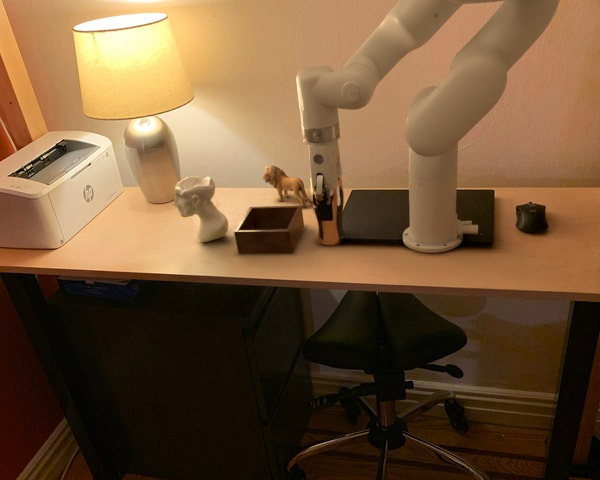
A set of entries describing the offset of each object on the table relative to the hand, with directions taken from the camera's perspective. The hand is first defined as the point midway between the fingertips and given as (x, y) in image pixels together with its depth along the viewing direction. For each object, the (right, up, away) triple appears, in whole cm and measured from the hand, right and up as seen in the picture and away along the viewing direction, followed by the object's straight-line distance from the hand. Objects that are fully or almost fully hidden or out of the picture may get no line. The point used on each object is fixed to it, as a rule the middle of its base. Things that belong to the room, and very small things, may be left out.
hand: (328, 211), depth 129 cm
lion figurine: (-9, +6, +24) cm, 26 cm away
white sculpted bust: (-28, -5, +11) cm, 31 cm away
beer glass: (+1, -6, +4) cm, 7 cm away
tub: (-13, -5, +7) cm, 16 cm away
